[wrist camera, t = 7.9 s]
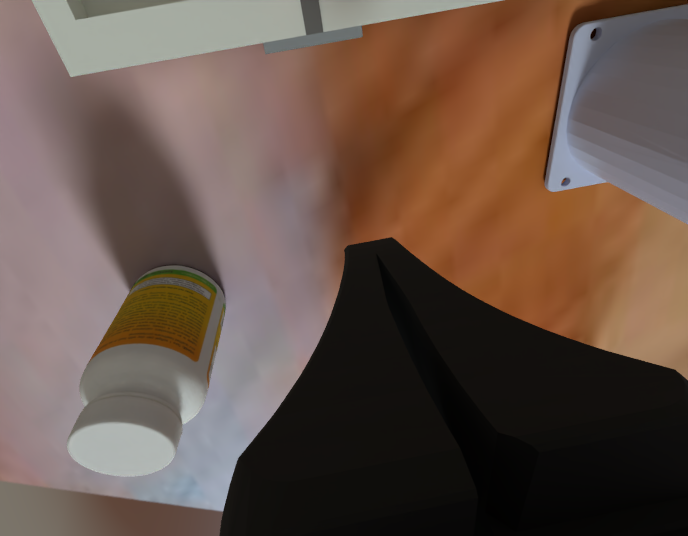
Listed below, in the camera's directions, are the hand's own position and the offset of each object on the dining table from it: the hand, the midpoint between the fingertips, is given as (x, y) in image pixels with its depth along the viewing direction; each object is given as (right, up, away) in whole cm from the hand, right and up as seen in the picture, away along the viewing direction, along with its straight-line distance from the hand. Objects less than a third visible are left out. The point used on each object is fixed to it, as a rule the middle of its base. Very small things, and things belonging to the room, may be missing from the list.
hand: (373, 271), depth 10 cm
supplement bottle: (-11, -2, +13) cm, 17 cm away
